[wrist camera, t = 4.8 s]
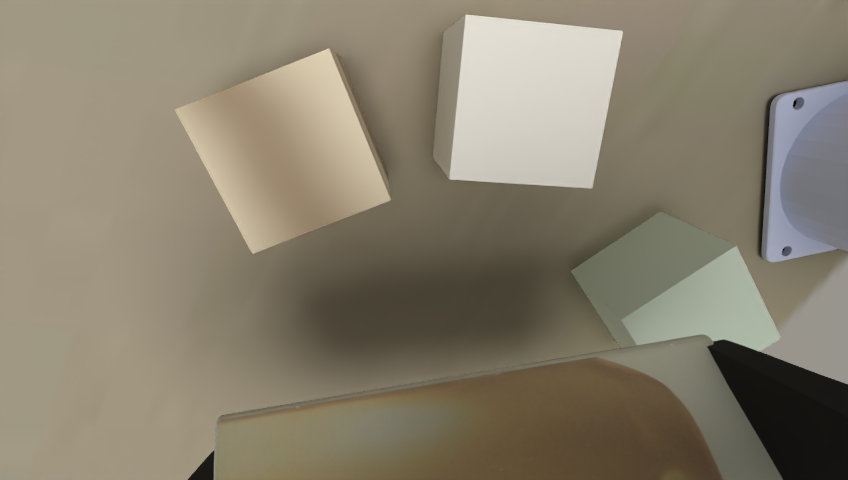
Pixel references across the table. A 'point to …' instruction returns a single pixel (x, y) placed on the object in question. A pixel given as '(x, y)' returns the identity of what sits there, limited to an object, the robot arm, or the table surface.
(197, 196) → the table surface
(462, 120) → the cube cream
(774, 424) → the robot arm
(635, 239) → the cube sage
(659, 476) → the skincare box
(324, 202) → the cube beech
